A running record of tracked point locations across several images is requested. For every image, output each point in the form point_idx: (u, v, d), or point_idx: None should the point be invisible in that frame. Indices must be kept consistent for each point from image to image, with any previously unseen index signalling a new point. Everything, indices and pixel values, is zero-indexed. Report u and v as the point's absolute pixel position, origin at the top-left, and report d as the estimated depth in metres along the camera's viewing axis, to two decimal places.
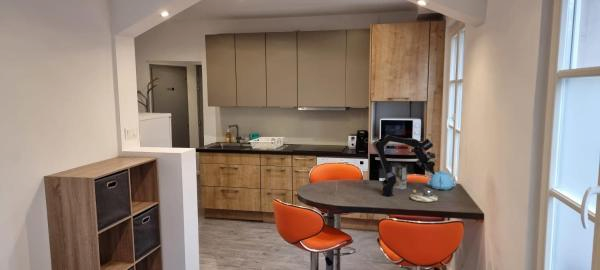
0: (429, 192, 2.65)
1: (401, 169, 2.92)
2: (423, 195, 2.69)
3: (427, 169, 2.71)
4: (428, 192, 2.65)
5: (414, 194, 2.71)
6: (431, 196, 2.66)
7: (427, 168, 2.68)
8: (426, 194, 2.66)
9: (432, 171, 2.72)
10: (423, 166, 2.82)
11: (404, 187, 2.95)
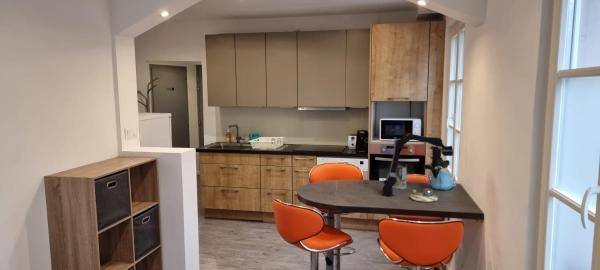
0: (429, 192, 2.65)
1: (401, 169, 2.92)
2: (423, 195, 2.69)
3: None
4: (428, 192, 2.65)
5: (414, 194, 2.71)
6: (431, 196, 2.66)
7: (424, 167, 2.69)
8: (426, 194, 2.66)
9: (434, 174, 2.71)
10: None
11: (404, 187, 2.95)
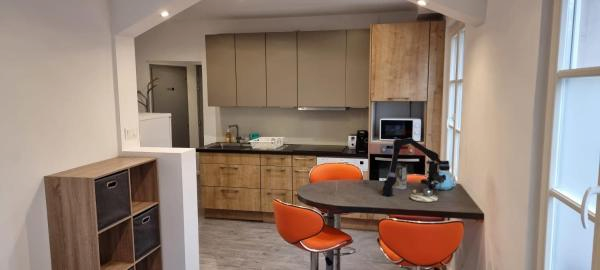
0: (429, 192, 2.65)
1: (401, 169, 2.92)
2: None
3: None
4: (428, 192, 2.65)
5: (414, 194, 2.71)
6: (431, 196, 2.66)
7: None
8: (426, 194, 2.66)
9: (430, 188, 2.71)
10: None
11: (404, 187, 2.95)
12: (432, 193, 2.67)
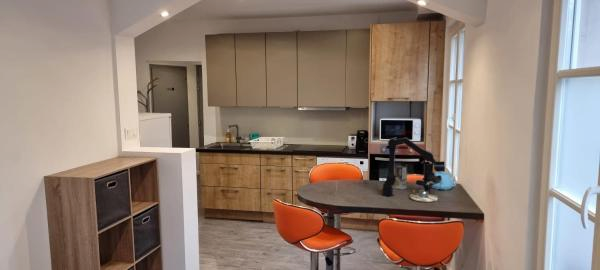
0: (425, 193, 2.62)
1: (401, 169, 2.92)
2: None
3: None
4: (424, 193, 2.62)
5: (414, 194, 2.71)
6: (431, 196, 2.66)
7: None
8: (422, 195, 2.63)
9: (426, 189, 2.67)
10: None
11: (404, 187, 2.95)
12: None
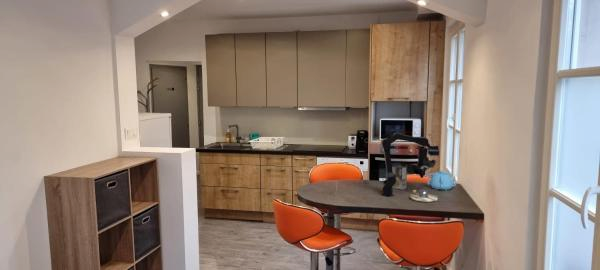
0: (425, 193, 2.62)
1: (401, 169, 2.92)
2: None
3: None
4: (424, 193, 2.62)
5: (414, 194, 2.71)
6: (431, 196, 2.66)
7: (410, 167, 2.70)
8: (422, 195, 2.63)
9: (420, 174, 2.73)
10: None
11: (404, 187, 2.95)
12: None
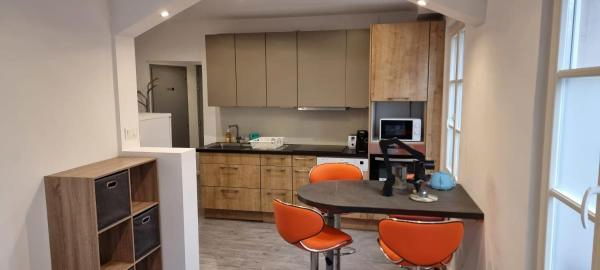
0: (425, 193, 2.62)
1: (401, 169, 2.92)
2: None
3: None
4: (424, 193, 2.62)
5: (414, 194, 2.71)
6: (431, 196, 2.66)
7: (406, 181, 2.69)
8: (421, 195, 2.63)
9: (416, 188, 2.72)
10: None
11: (404, 187, 2.95)
12: None
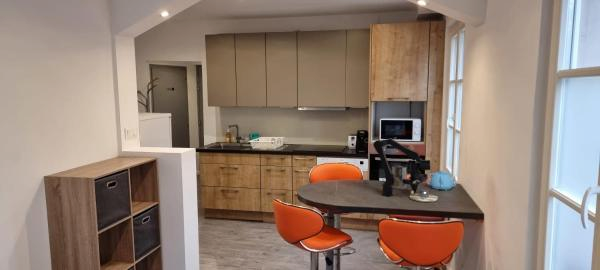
0: (427, 193, 2.63)
1: (401, 169, 2.92)
2: None
3: None
4: (426, 193, 2.62)
5: (412, 195, 2.68)
6: (429, 195, 2.69)
7: (402, 182, 2.66)
8: (425, 195, 2.62)
9: (413, 188, 2.69)
10: None
11: (404, 187, 2.95)
12: (428, 194, 2.65)
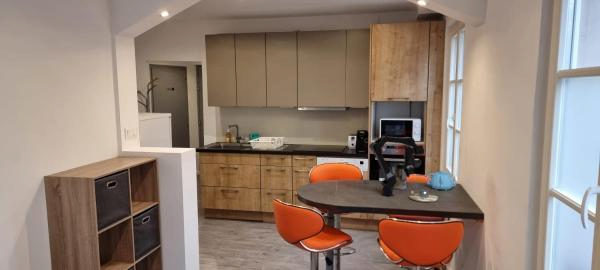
0: (427, 193, 2.63)
1: (401, 169, 2.92)
2: None
3: None
4: (426, 193, 2.62)
5: (412, 195, 2.68)
6: (429, 195, 2.69)
7: None
8: (425, 195, 2.62)
9: (406, 173, 2.77)
10: None
11: (404, 187, 2.95)
12: (428, 194, 2.65)
